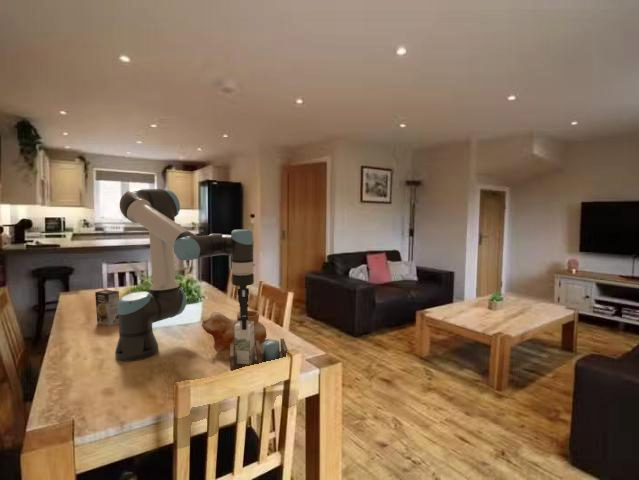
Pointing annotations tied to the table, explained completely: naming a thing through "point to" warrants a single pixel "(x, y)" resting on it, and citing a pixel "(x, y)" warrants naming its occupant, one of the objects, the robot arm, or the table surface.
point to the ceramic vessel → (230, 329)
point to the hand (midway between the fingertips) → (243, 331)
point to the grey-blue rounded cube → (271, 350)
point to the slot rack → (258, 355)
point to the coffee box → (107, 307)
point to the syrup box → (244, 345)
